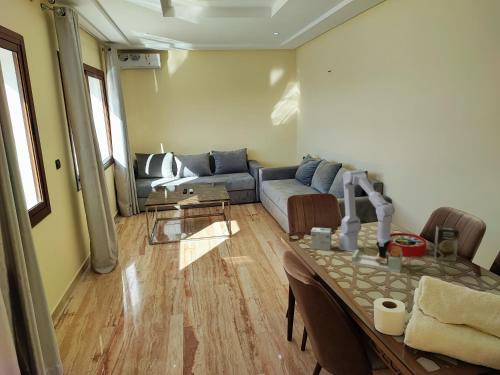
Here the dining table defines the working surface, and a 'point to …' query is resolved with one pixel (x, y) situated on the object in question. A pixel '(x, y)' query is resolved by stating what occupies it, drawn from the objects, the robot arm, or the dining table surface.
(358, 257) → the rail
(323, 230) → the light bulb box
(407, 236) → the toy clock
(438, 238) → the coffee box
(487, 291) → the dining table surface
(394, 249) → the button
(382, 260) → the carriage
